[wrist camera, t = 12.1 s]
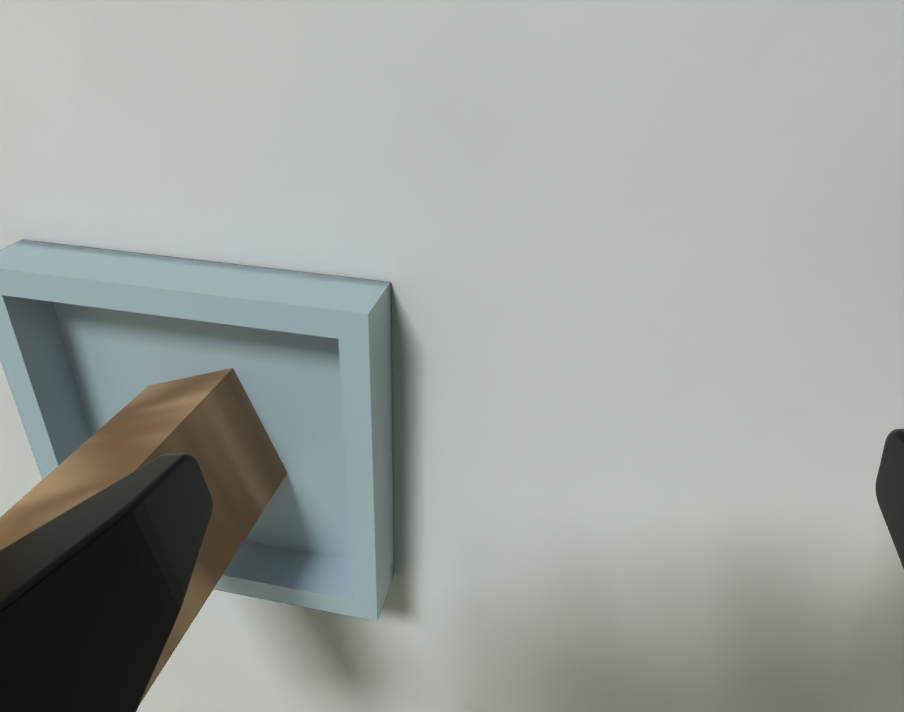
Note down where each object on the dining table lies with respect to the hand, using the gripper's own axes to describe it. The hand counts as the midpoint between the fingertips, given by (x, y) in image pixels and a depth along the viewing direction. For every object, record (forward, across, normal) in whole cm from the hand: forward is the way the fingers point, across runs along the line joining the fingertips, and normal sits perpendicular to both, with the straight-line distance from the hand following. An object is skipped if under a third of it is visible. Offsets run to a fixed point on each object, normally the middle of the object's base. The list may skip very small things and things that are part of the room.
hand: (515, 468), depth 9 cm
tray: (+14, +13, +8) cm, 21 cm away
